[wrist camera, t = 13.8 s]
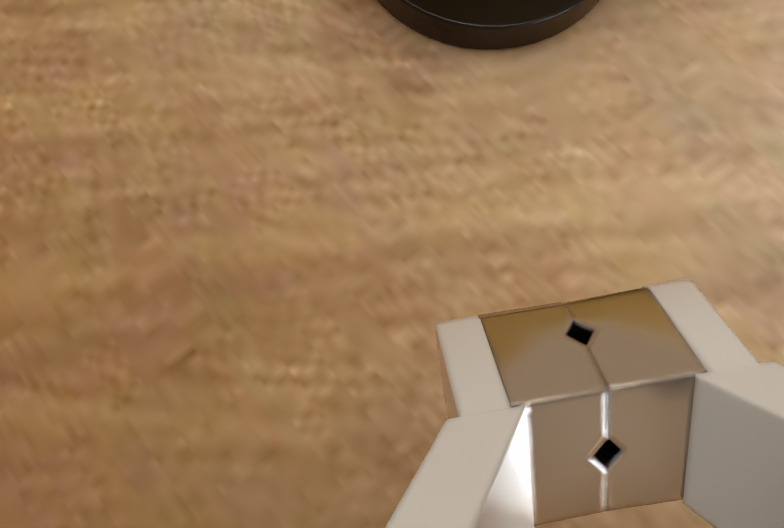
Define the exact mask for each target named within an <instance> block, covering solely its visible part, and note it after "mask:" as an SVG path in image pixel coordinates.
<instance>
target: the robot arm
mask: <svg viewBox="0 0 784 528" xmlns="http://www.w3.org/2000/svg"><path fill="white" fill-rule="evenodd" d="M435 332H436V339H437V346H438V354H439V361H440V368H441V376H442V383H443V390H444V397H445V403H446V409H447V415H448V419H446V420H445V422H444V424H443V425H442V427H441V429H440V431H439V433H438V434H437V436H436V438H435V440H434V441H433V443H432V445H431V447H430V448H429V450H428V452H427V454H426V456H425V457H424V459H423V461H422V463H421V464H420V466H419V468H418V470H417V472H416V473H415V475H414V477H413V479H412V480H411V482H410V484H409V486H408V488H407V489H406V491H405V493H404V495H403V496H402V498H401V500H400V502H399V504H398V505H397V507H396V509H395V511H394V512H393V514H392V516H391V518H390V520H389V521H388V523H387V525H386V527H385V528H534V526H537V525H542V524H546V523H551V522H556V521H561V520H565V519H570V518H575V517H580V516H585V515H589V514H594V513H599V512H604V511H610V510H616V509H623V508H629V507H636V506H643V505H649V504H656V503H662V502H669V501H676V500H682V499H683V504H685V505H686V506H687V507H689V508H690V509H691V510H693V511H694V512H695V513H697V514H698V515H699V516H701V517H702V518H703V519H704V520H706V521H707V522H708V523H710V524H711V525H712V526H714V527H715V528H784V365H782V364H779V363H777V362H775V361H770V362H764V363H760V362H759V361H758V360H757V359H756V358H755V356H754V355H753V354H752V353H751V352H750V350H749V349H748V348H747V347H746V346H745V344H744V343H743V342H742V341H741V340H740V338H739V337H738V336H737V335H736V334H735V332H734V331H733V330H732V329H731V328H730V326H729V325H728V324H727V323H726V322H725V320H724V319H723V318H722V317H721V316H720V314H719V313H718V312H717V311H716V310H715V308H714V307H713V306H712V305H711V304H710V302H709V301H708V300H707V299H706V298H705V296H704V295H703V294H702V293H701V292H700V290H699V289H698V288H697V287H696V285H695V284H694V283H693V282H692V281H690V280H688V279H685V278H682V279H677V280H672V281H667V282H662V283H657V284H652V285H648V286H643V287H642V288H640V289H634V290H629V291H623V292H618V293H612V294H607V295H601V296H596V297H590V298H585V299H579V300H574V301H568V302H563V303H561V302H559V303H552V304H546V305H540V306H533V307H527V308H520V309H514V310H507V311H501V312H494V313H488V314H482V315H478V317H477V316H470V317H465V318H459V319H453V320H447V321H441V322H436V330H435Z"/></svg>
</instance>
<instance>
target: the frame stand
mask: <svg viewBox="0 0 784 528" xmlns="http://www.w3.org/2000/svg"><path fill="white" fill-rule="evenodd" d="M379 1H380V2H381V4H382V5H383V6H384V7H385V8H386V9H387V10H389V11H390V12H391V13H392V14H393V15H394V16H395V17H396V18H398V19H399V20H400V21H402V22H403V23H405V24H406V25H407V26H409V27H410V28H412V29H414V30H416V31H418V32H420V33H422V34H423V35H425V36H428V37H430V38H433V39H435V40H438V41H441V42H444V43H448V44H452V45H456V46H460V47H467V48H474V49H503V48H512V47H518V46H522V45H527V44H531V43H534V42H537V41H540V40H542V39H545V38H548V37H551V36H552V35H554V34H556V33H558V32H560V31H562V30H564V29H566V28H568V27H569V26H571V25H572V24H573V23H575V22H576V21H578V20H579V19H581V18H582V17H583V16H584V15H585V14H586V13H587V12H588V11H589V10H591V9H592V8H593V7H594V6H595V5H596V3H597V2H598V1H599V0H379Z"/></svg>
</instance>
